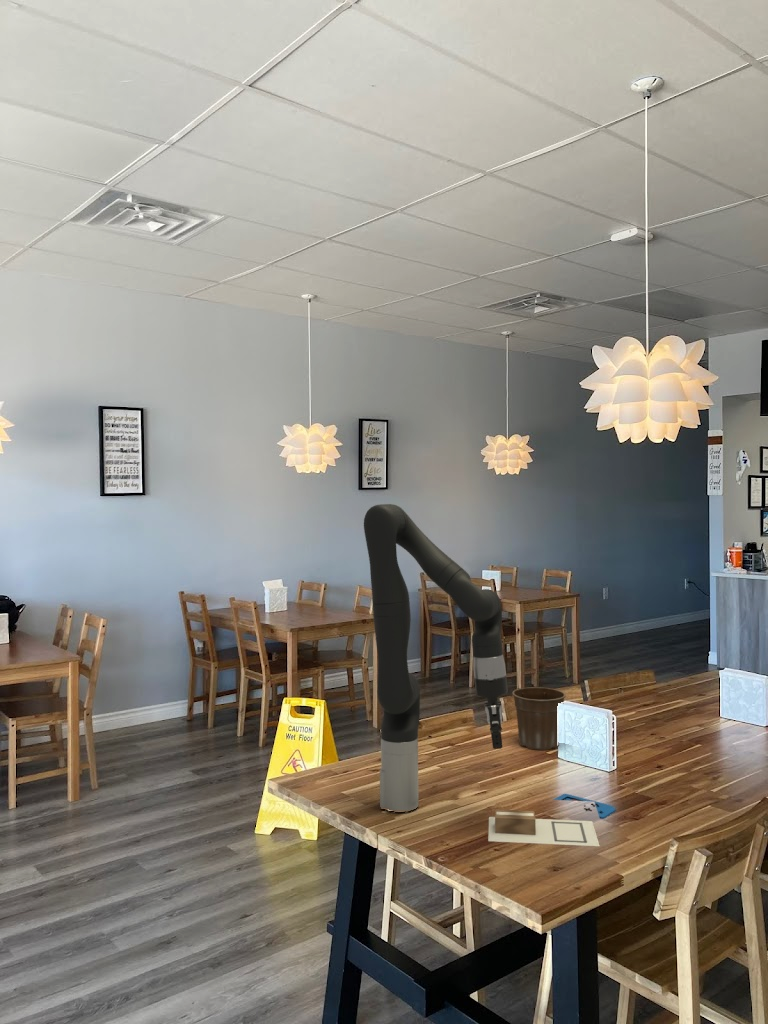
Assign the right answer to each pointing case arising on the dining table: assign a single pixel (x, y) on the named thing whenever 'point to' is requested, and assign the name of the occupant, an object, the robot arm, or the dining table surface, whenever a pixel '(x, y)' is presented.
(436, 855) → the dining table surface
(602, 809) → the handheld gaming device
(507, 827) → the card box
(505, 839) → the mat
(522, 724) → the plant pot
